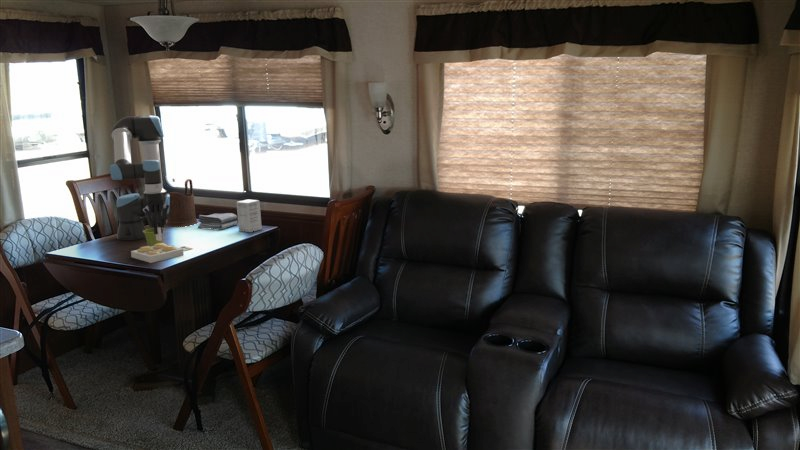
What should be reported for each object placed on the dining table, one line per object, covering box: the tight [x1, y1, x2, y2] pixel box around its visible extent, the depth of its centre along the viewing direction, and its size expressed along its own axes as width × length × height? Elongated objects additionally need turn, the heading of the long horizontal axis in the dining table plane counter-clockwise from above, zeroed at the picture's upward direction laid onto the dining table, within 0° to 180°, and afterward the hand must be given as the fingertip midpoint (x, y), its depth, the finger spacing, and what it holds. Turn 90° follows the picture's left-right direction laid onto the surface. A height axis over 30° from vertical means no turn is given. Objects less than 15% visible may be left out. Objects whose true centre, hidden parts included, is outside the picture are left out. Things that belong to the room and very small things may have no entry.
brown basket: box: [165, 178, 199, 228], centre depth 359 cm, size 18×24×25 cm
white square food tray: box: [130, 243, 184, 264], centre depth 289 cm, size 17×17×3 cm
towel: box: [197, 212, 238, 230], centre depth 350 cm, size 15×18×8 cm
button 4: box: [163, 244, 175, 252], centre depth 289 cm, size 5×5×3 cm
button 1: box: [139, 245, 151, 253], centre depth 288 cm, size 5×5×3 cm
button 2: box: [148, 251, 160, 255], centre depth 284 cm, size 5×5×3 cm
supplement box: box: [236, 198, 263, 233], centre depth 339 cm, size 10×9×17 cm
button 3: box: [154, 242, 166, 249], centre depth 294 cm, size 5×5×3 cm
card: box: [178, 246, 194, 252], centre depth 301 cm, size 7×7×1 cm
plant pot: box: [143, 227, 164, 247], centre depth 306 cm, size 9×9×9 cm
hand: (159, 240), depth 293 cm, fingers closed
